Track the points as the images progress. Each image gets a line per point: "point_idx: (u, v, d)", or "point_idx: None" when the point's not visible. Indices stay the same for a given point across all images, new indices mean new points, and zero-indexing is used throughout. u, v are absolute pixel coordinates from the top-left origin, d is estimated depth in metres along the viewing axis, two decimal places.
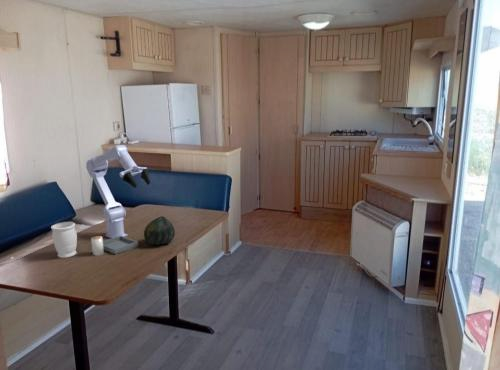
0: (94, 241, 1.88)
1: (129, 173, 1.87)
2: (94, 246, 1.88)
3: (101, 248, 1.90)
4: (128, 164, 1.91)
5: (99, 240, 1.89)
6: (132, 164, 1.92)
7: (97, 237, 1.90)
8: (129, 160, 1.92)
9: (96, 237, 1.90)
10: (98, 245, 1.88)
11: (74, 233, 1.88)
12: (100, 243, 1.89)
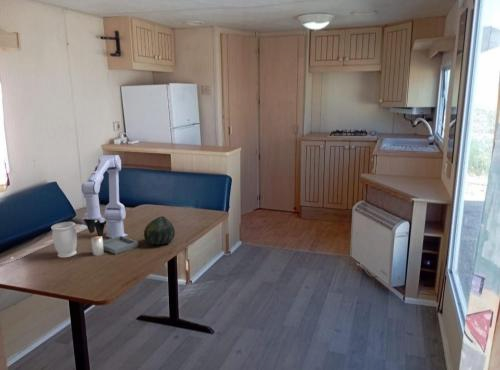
0: (94, 242, 1.88)
1: (84, 221, 1.89)
2: (94, 246, 1.88)
3: (101, 248, 1.90)
4: None
5: (99, 240, 1.89)
6: (87, 213, 1.85)
7: (97, 237, 1.90)
8: (86, 207, 1.85)
9: (96, 237, 1.90)
10: (98, 245, 1.88)
11: (74, 233, 1.88)
12: (100, 243, 1.89)
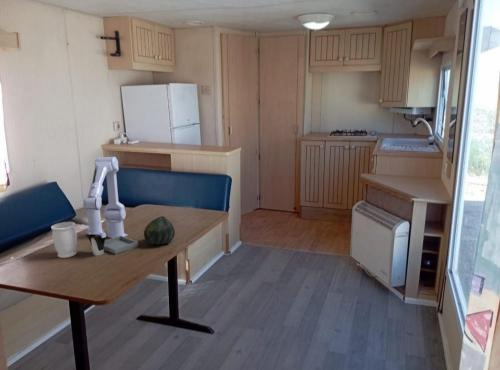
0: (94, 241, 1.88)
1: (87, 236, 1.90)
2: (94, 246, 1.88)
3: None
4: None
5: None
6: (89, 228, 1.87)
7: None
8: (88, 222, 1.86)
9: None
10: None
11: (74, 233, 1.88)
12: None
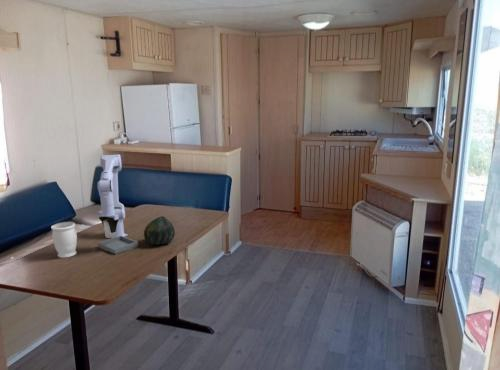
0: (106, 224, 1.91)
1: (100, 218, 1.94)
2: (106, 229, 1.92)
3: None
4: None
5: None
6: (102, 210, 1.91)
7: None
8: (101, 205, 1.90)
9: None
10: None
11: (74, 233, 1.88)
12: None
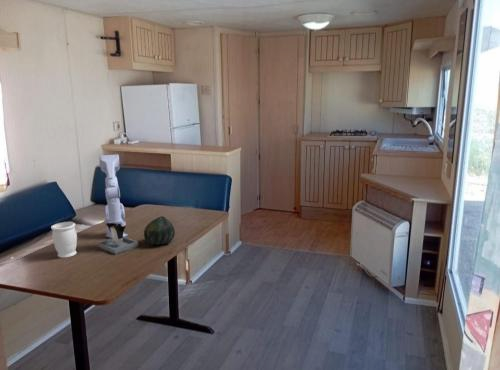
0: (113, 230, 1.94)
1: (107, 225, 1.97)
2: (113, 235, 1.95)
3: None
4: None
5: None
6: (109, 217, 1.94)
7: None
8: (109, 212, 1.93)
9: None
10: None
11: (74, 233, 1.88)
12: None
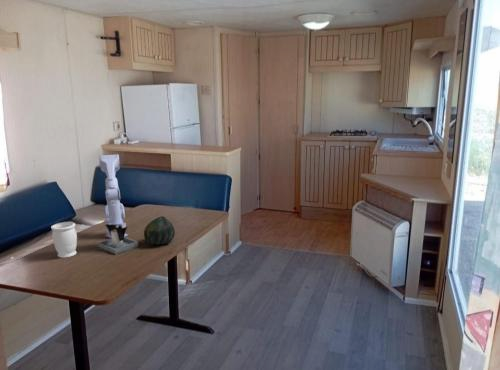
0: (114, 234, 1.95)
1: (106, 226, 1.98)
2: (114, 239, 1.96)
3: None
4: None
5: None
6: (109, 219, 1.94)
7: None
8: (109, 213, 1.93)
9: (115, 230, 1.97)
10: (117, 238, 1.96)
11: (74, 233, 1.88)
12: None
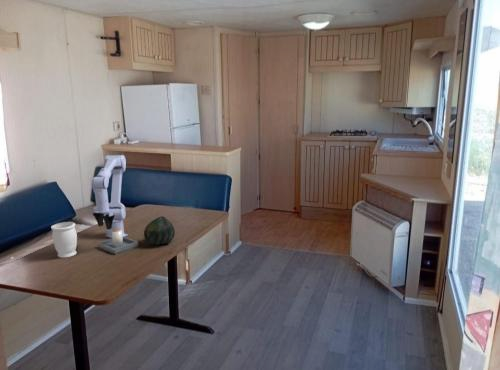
0: (114, 234, 1.95)
1: (94, 215, 1.97)
2: (114, 239, 1.96)
3: (121, 241, 1.97)
4: None
5: (119, 233, 1.96)
6: (97, 207, 1.93)
7: (117, 230, 1.97)
8: (96, 201, 1.92)
9: (116, 230, 1.97)
10: (118, 238, 1.96)
11: (74, 233, 1.88)
12: (120, 236, 1.96)
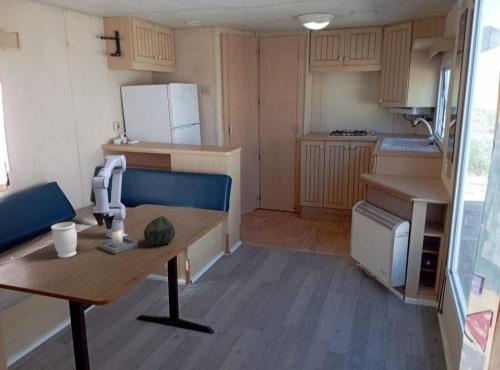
0: (114, 234, 1.95)
1: (94, 215, 1.97)
2: (114, 239, 1.96)
3: (121, 241, 1.97)
4: None
5: (119, 233, 1.96)
6: (97, 207, 1.93)
7: (117, 230, 1.97)
8: (96, 201, 1.92)
9: (116, 230, 1.97)
10: (117, 238, 1.96)
11: (74, 233, 1.88)
12: (120, 236, 1.96)
